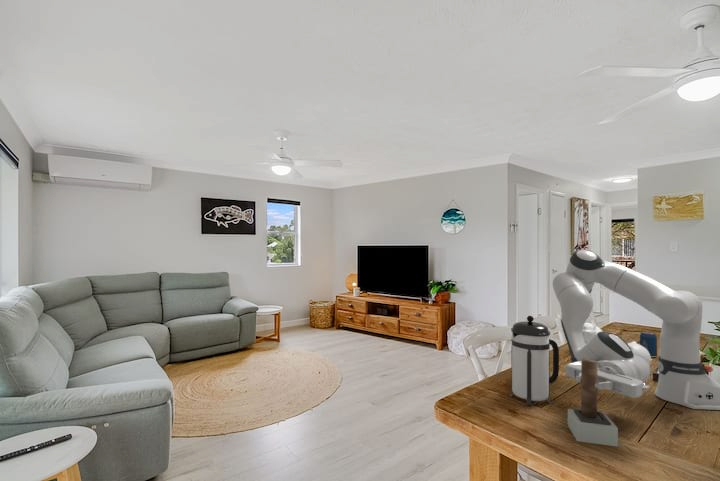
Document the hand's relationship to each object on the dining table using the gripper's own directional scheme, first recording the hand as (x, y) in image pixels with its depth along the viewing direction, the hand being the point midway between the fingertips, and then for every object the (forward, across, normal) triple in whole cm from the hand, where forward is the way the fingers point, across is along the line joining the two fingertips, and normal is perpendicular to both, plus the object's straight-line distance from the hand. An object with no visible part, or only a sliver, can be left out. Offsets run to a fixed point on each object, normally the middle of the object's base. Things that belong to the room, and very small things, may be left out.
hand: (587, 383), depth 109 cm
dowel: (-1, 0, -10) cm, 10 cm away
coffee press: (-10, +25, -16) cm, 31 cm away
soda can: (-111, +33, -16) cm, 117 cm away
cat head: (-79, +24, -16) cm, 84 cm away
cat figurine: (-92, +50, -16) cm, 106 cm away
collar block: (-1, -1, -15) cm, 15 cm away
